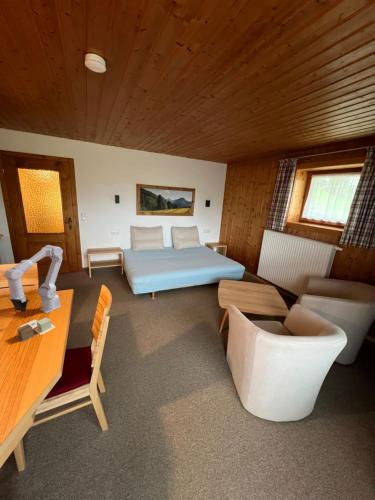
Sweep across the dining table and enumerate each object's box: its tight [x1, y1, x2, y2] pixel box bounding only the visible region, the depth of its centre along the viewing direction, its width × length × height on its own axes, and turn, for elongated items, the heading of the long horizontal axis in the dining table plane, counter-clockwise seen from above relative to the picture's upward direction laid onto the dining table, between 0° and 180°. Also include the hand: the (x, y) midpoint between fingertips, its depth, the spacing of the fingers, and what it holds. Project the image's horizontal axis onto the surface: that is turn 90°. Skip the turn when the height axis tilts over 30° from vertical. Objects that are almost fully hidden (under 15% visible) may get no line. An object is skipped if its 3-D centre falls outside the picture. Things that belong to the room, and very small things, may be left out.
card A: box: [19, 319, 38, 330], centre depth 118 cm, size 8×8×1 cm
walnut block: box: [16, 324, 34, 340], centre depth 109 cm, size 5×5×5 cm
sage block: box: [36, 317, 52, 332], centre depth 116 cm, size 5×5×5 cm
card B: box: [33, 323, 56, 335], centre depth 116 cm, size 8×8×1 cm
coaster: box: [16, 331, 38, 343], centre depth 110 cm, size 7×7×1 cm
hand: (20, 308), depth 118 cm, fingers open, 7 cm apart
